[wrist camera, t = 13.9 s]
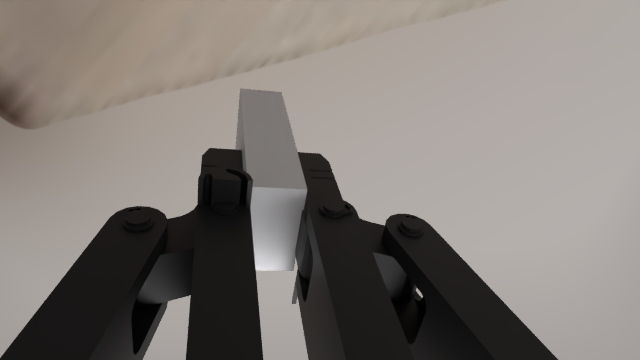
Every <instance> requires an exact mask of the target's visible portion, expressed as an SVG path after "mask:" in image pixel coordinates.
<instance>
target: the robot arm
mask: <svg viewBox="0 0 640 360" xmlns="http://www.w3.org/2000/svg"><path fill="white" fill-rule="evenodd" d="M295 258H296V260H297V265H298V270H297V276H296V282H295V287H294V293H293V299H292V304H296V300H297V297H298V300H299V306H300V312H301V318H302V324H303V330H304V336H305V341H306V347H307V353H308V358H309V360H558V359H557V358H556V357H555V356H554V355H553V354H552V353H551V352H550V351H549V350H548V349H547V348H546V347H545V346H544V344H543V343H542V342H541V341H540V340H539V339H538V338H537V337H536V336H535V335H534V334H533V333H532V332H531V331H530V330H529V329H528V328H527V326H526V325H525V324H524V323H523V322H522V321H521V320H520V319H519V318H518V317H517V316H516V315H515V314H514V313H513V312H512V311H511V310H510V309H509V308H508V306H507V305H506V304H504V302H503V301H502V300H501V299H500V298H499V297H498V296H497V295H496V294H495V293H494V292H493V291H492V290H491V289H490V287H489V286H488V285H486V283H485V282H484V281H483V280H482V279H481V278H480V277H479V276H478V275H477V274H476V273H475V272H474V271H473V270H472V269H471V268H470V266H469V265H468V264H467V263H466V262H465V261H464V260H463V259H462V258H461V257H460V256H459V255H458V254H457V253H456V252H455V251H454V250H453V249H452V247H451V246H450V245H449V244H448V243H447V242H446V241H445V240H444V239H443V238H442V237H441V236H440V235H439V234H438V233H437V232H436V231H435V230H434V229H433V228H432V227H431V225H429V224H428V223H427V222H426V221H424V220H423V219H420V218H418V217H416V216H413V215H409V214H396V215H392V216H390V217H389V218H388V219H387V220H386V224H385V226H384V225H380V224H376V223H371V222H368V221H365V220H362V219H360V218H359V217H358V214H357V211H356V210H355V208H354V207H353V206H352V205H351V204H349V203H348V202H346V201H344V200H343V199H342V197H341V194H340V191H339V189H338V186H337V183H336V180H335V177H334V175H333V173H332V169H331V166H330V164H329V162H328V161H327V160H326V159H325V158H324V157H323V156H322V155H321V154H316V153H300V152H297V149H296V145H295V141H294V137H293V134H292V130H291V126H290V122H289V118H288V115H287V111H286V107H285V103H284V100H283V96H282V93H281V92H273V91H262V90H251V89H240V99H239V113H238V124H237V137H236V149H235V150H231V149H216V148H209V149H208V150H207V151H206V153H205V154H203V155H202V164H201V174H200V176H199V179H198V205H197V206H196V207H195V209H194V210H192V211H191V212H189V213H188V214H185V215H183V216H180V217H176V218H170V219H167V218H166V216H165V214H163V213H162V212H160V211H159V210H157V209H154V208H151V207H142V206H136V207H130V208H125V209H123V210H121V211H118V212H116V213H115V214H114V215H112V216H111V217H110V218H109V220H108V221H107V222H106V223H105V225H104V226H103V227H102V228H101V230H100V231H99V232H98V234H97V235H96V236H95V238H94V239H93V240H92V241H91V243H90V244H89V245H88V246H87V248H86V249H85V250H84V252H83V253H82V254H81V255H80V257H79V258H78V259H77V261H76V262H75V263H74V264H73V266H72V267H71V268H70V269H69V271H68V272H67V273H66V275H65V276H64V277H63V278H62V280H61V281H60V282H59V284H58V285H57V286H56V287H55V289H54V290H53V291H52V292H51V294H50V295H49V296H48V298H47V299H46V300H45V301H44V303H43V304H42V305H41V307H40V308H39V309H38V311H37V312H36V313H35V314H34V316H33V317H32V318H31V319H30V321H29V322H28V323H27V325H26V326H25V327H24V329H23V330H22V331H21V332H20V334H19V335H18V336H17V337H16V339H15V340H14V341H13V342H12V344H11V345H10V346H9V348H8V349H7V350H6V351H5V353H4V354H3V355H2V357H1V358H0V360H142V359H143V357H144V355H145V353H146V351H147V349H148V347H149V345H150V342H151V340H152V338H153V336H154V334H155V332H156V330H157V327H158V325H159V323H160V321H161V318H162V317H163V315H164V312H165V310H166V308H167V303H168V301H170V300H174V299H178V298H182V297H186V296H189V295H191V299H190V313H189V326H188V340H187V353H186V360H263V352H262V340H261V329H260V317H259V305H258V293H257V281H256V270H281V271H285V270H286V271H289V270H290V271H292V270H294V264H295ZM416 288H418V289H419V290H420V292H421V293H422V295H423V298H421V297H420V296H419V295H418V293H417V292H416Z"/></svg>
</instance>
